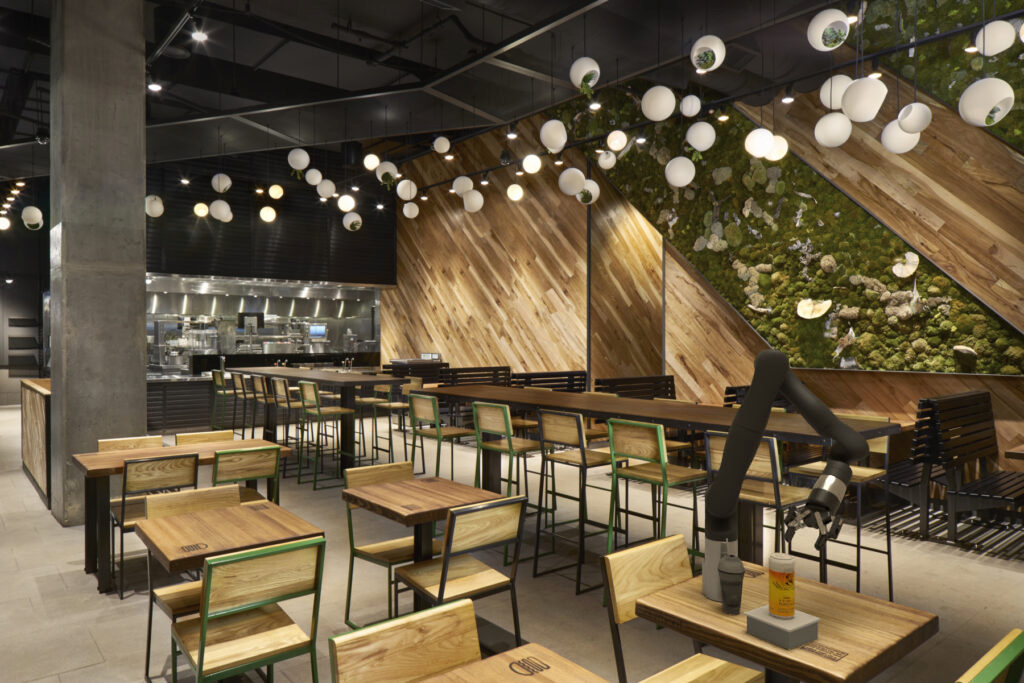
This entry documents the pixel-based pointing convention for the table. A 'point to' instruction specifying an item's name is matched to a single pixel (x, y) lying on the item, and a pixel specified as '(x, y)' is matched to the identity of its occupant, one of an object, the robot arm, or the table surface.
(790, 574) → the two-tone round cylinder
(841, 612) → the table surface
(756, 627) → the grey square box
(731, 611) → the beverage cup
